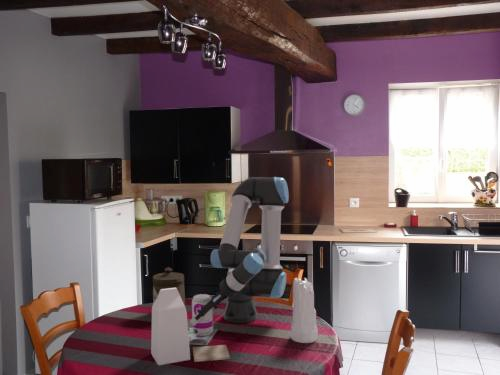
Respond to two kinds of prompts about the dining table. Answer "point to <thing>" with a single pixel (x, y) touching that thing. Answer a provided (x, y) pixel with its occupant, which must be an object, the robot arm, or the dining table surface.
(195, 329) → the supplement can
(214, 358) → the beige cloth
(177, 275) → the wooden container
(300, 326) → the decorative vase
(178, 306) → the milk
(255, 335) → the dining table surface
